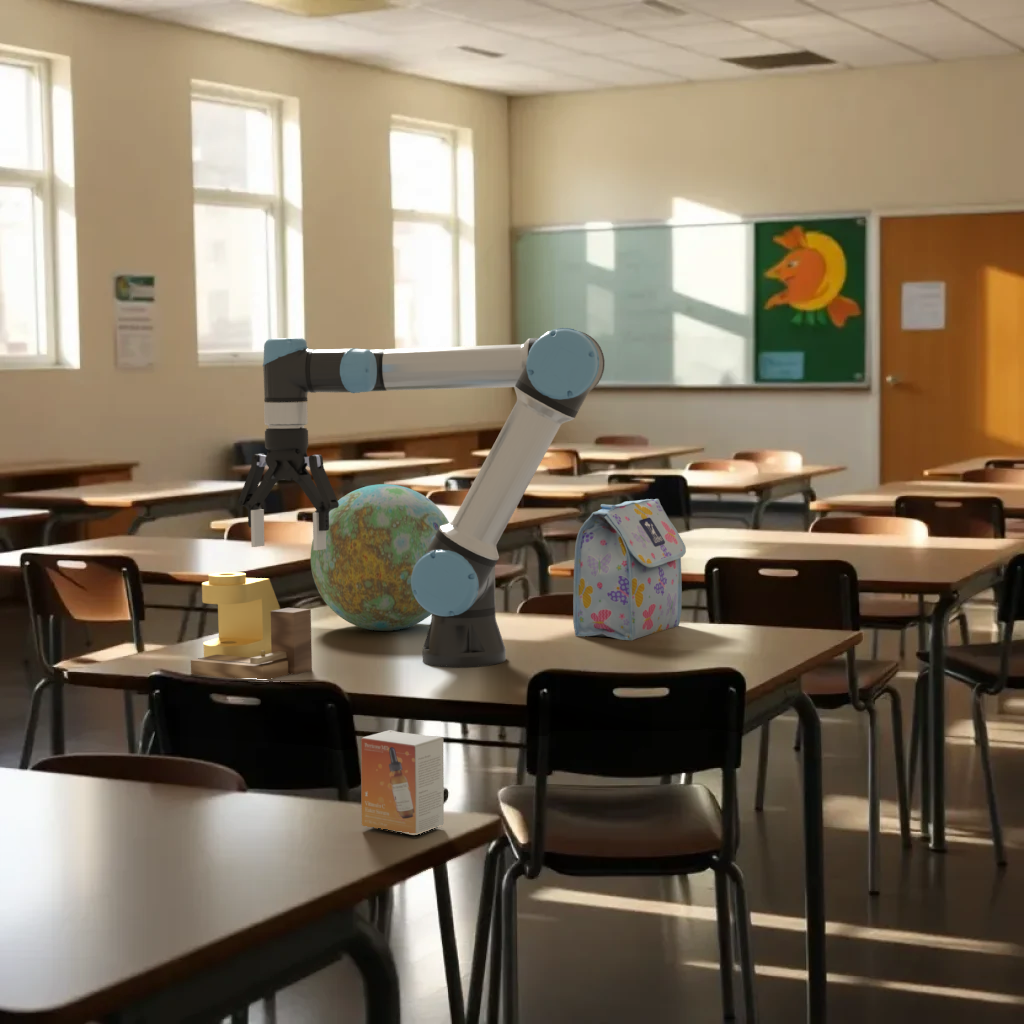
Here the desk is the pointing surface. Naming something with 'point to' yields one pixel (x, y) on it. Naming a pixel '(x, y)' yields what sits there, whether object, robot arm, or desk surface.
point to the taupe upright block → (290, 640)
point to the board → (238, 667)
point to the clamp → (240, 614)
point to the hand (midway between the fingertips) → (288, 548)
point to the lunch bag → (627, 572)
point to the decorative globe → (376, 556)
